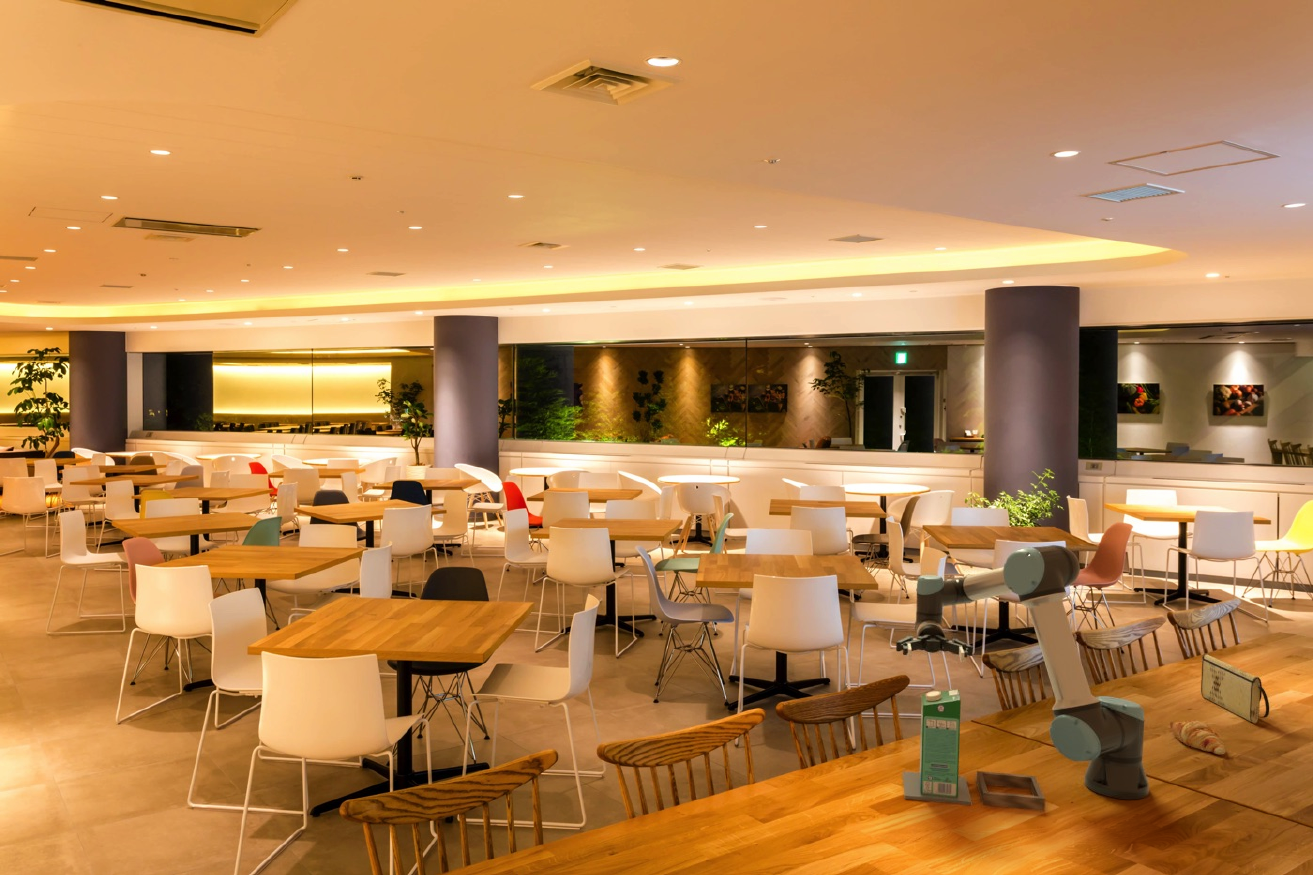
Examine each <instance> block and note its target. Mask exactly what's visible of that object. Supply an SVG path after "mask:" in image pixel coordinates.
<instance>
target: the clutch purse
mask: <svg viewBox="0 0 1313 875" xmlns="http://www.w3.org/2000/svg"><path fill="white" fill-rule="evenodd" d="M1201 658H1202V663H1201V680H1200V681H1201V682H1200V683H1201V684H1200V693H1201V696H1202V698H1204V699H1206V700H1208V701H1210V702H1212V703H1215V704H1216V705H1218V706H1220V707H1222V708H1224V709H1225V710H1227V711H1229V712H1232V713H1233V714H1235V715H1237V716H1239V717H1240V718H1243V719H1244V720H1247V721H1248V722H1250V723H1252V724H1255V725H1256V724H1257V722H1258V721H1259V718H1261V719H1263V718H1264V719H1266V718H1268V716H1269V715H1270V702H1269V699H1268V694H1267V692H1266V691H1265V688H1264V687H1262V686H1263V685H1262V679H1261V678H1260V676H1259V677H1258V676H1256V675H1253V674H1252V673H1249V672H1246V671H1245V670H1242V669H1241V668H1238V667H1235V666H1234V665H1231V664H1229V663H1228V662H1227V663H1226V662H1225V661H1223V660H1220V659H1218V658H1217V657H1214V656H1211V655H1209V654H1207V653H1204V654H1203V655H1202V657H1201ZM1262 695H1263V699H1264V704H1265V705H1264V706H1265V713H1264V714H1263V716H1260V702H1261V700H1262Z"/></svg>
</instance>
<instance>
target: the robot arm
mask: <svg viewBox="0 0 1313 875" xmlns="http://www.w3.org/2000/svg"><path fill="white" fill-rule="evenodd" d="M1080 567H1081V566H1080V561H1079V559H1078V557H1077V556H1076V554H1075V553H1074V552H1073V551H1072V550H1071V549H1070V548H1067V547H1065V546H1062V545H1059V544H1058V545H1056V544H1055V545H1054V544H1053V545H1046V546H1045V545H1044V546H1043V545H1042V546H1031V547H1024V548H1022V549H1017V550H1014V551H1013V552H1012V553H1010V554H1009V555H1008V557H1007V558H1006V561H1005V562H1004V564H1003V566H1002V567H998V568H994V569H991V570H987V571H983V572H980V573H976V574H971V575H967V576H963V577H960V578H954V579H949V580H947V579H946V580H944V578H943V577H942V576H939V575H934V574H923V575H919V577H918V578H917V583H916V589H915V590H916V613H915V622H914V630H915V633H916V636H917V637H916V638H915V637H914V636H912V635H910V634H909V635H907V636H906V637H904V638H902V639H900V640H899V639H898V640H897V641H896V644H895V648H896V649H895V651H896V652H902V655H903V656H907V659H908V660H911V661H912V652H914V651H917V650H920V651H924V652H927V653H931V654H933V653H938V652H939V651H940V652H944V653H946V652H950V653H953V654H956V655H958V657H959V661H960V663H961V664H965V658H968V656H969V657H973V656H974V654H973V652H974V647H973V646H972V645H970V644H968V643H966V642H964V641H961V640H959V638H957V637H953V638H952V639H951V640H949V639H948V638H946V636H945V632H944V629H943V610H944V607H949V606H956V605H965V604H970V603H973V602H976V601H981V600H984V599H988V598H993V597H997V596H1002V595H1007V594H1011V593H1014V594H1016V595H1018V599H1019V601H1020V602H1019V603H1020V604H1021V605H1022V606H1024V607H1027V609H1028V611H1029V614H1030V618H1031V620H1032V621H1031V622H1032V625H1033V627H1034V631H1035V636H1036V638H1037V641H1038V645H1039V648H1040V650H1041V654H1042V658H1043V661H1044V664H1045V668H1046V670H1047V675H1048V678H1049V681H1050V685H1051V687H1052V691H1053V696H1054V698H1055V703H1054V704H1053V706H1052V708H1051V709H1052V713H1053V717H1054V719H1052V721H1051V722H1050V726H1049V737H1050V740H1051V742H1052V744H1053V746H1054V747H1055V749H1056V750H1057V751H1058V752H1059V754H1061V755H1063V756H1064V757H1065V758H1066V759H1069V760H1070V761H1073V762H1080V763H1081V762H1089V763H1088V766H1087V768H1086V770H1085V773H1084V785H1085V786H1086V787H1087V788H1088V789H1089V790H1091V791H1092V792H1095V793H1097V794H1099V795H1102V796H1105V797H1109V798H1114V799H1119V800H1141V799H1144V798H1147V797H1148V795H1149V789H1150V784H1149V780H1148V776H1147V774H1146V770H1145V768H1144V764H1143V753H1144V752H1143V751H1144V750H1143V749H1144V734H1145V732H1144V731H1145V722H1146V720H1145V710H1144V708H1143V707H1142V706H1141V705H1140V704H1139V703H1137V702H1134V701H1131V700H1128V699H1124V698H1121V697H1113V696H1106V695H1105V696H1104V695H1101V696H1095V695H1093V694H1092V693H1091V689H1090V686H1089V683H1088V679H1087V677H1086V673H1085V669H1084V667H1083V664H1082V660H1081V658H1080V653H1079V651H1078V648H1077V643H1076V640H1075V637H1074V634H1073V632H1072V628H1071V625H1070V621H1069V618H1068V614H1067V612H1066V609H1065V605H1064V602H1063V600H1064V598H1065V597H1066V595H1067V592H1066V587H1069V586H1071V585H1072V584H1074V583H1075V582H1076V581H1077V579H1078V577H1079V574H1080V569H1081V568H1080Z"/></svg>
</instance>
